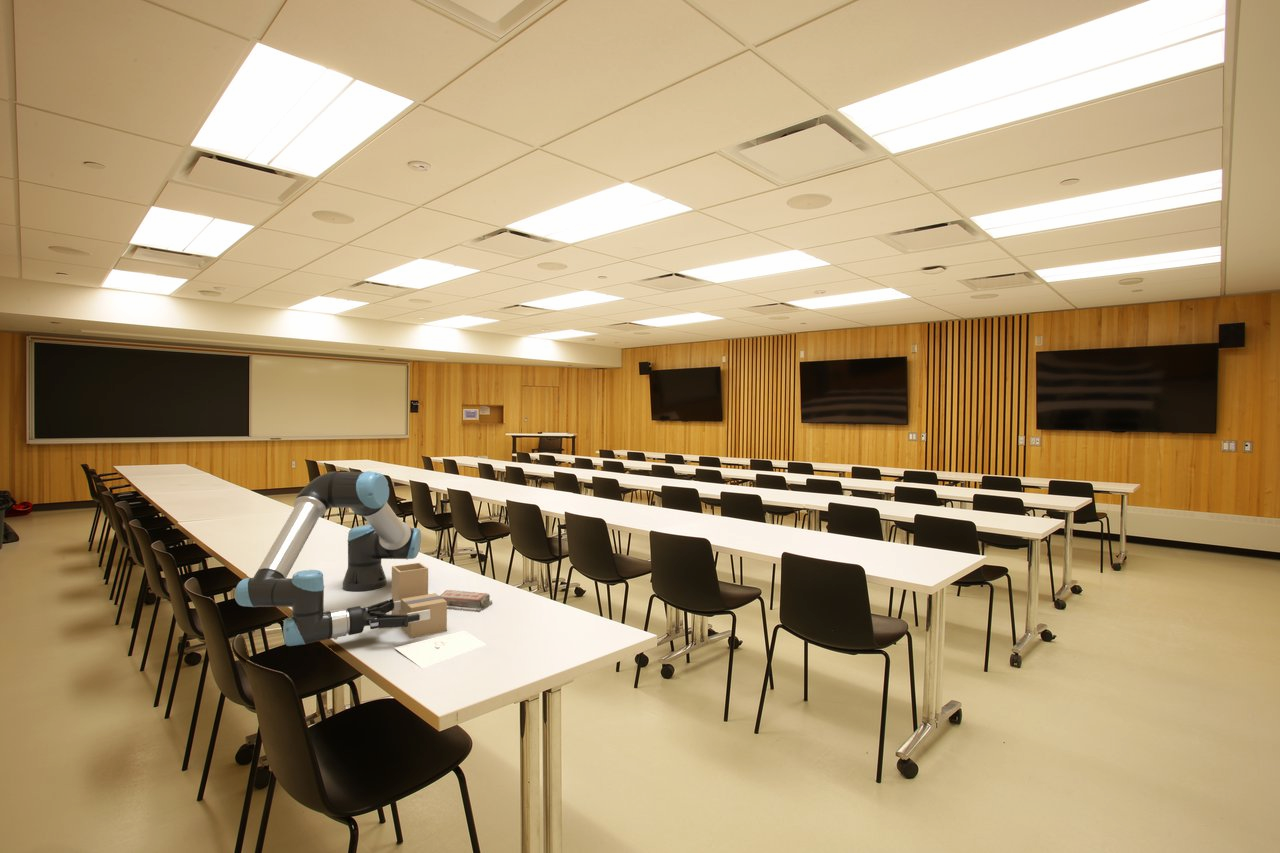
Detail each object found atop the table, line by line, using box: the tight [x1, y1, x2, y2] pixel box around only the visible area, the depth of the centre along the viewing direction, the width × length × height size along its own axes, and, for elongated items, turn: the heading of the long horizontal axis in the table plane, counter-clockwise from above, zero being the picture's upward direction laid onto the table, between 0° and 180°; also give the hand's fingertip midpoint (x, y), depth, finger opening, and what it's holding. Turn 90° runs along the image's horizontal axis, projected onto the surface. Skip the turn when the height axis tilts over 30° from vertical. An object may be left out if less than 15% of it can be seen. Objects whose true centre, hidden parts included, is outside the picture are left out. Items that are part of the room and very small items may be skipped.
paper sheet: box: [394, 630, 487, 669], centre depth 164 cm, size 24×29×1 cm
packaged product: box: [439, 589, 493, 613], centre depth 207 cm, size 18×5×10 cm
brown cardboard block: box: [400, 592, 448, 639], centre depth 183 cm, size 11×11×9 cm
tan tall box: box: [391, 562, 429, 615], centre depth 195 cm, size 9×9×16 cm
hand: (422, 608), depth 183 cm, fingers open, 13 cm apart
